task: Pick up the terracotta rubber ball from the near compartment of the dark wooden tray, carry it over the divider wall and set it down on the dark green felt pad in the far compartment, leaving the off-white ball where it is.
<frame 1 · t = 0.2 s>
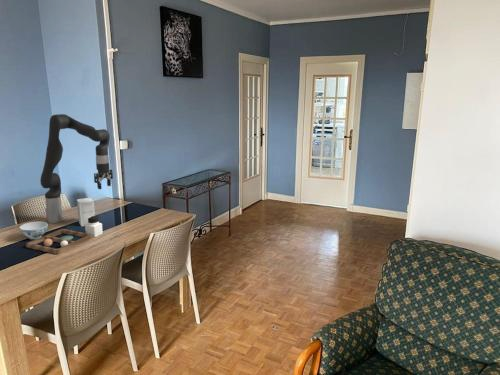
hand: (104, 187, 237), 29 cm above the table, fingers open, 8 cm apart
terracotta ball: (48, 246, 218), resting in dark wooden tray
supplement box: (87, 223, 256), on the table
off-white ball: (64, 247, 217), resting in dark wooden tray
medicine bottle: (94, 235, 237), on the table
dark wooden tray: (60, 242, 223), on the table
chinaware: (35, 237, 230), on the table
felt pad: (66, 238, 230), resting in dark wooden tray
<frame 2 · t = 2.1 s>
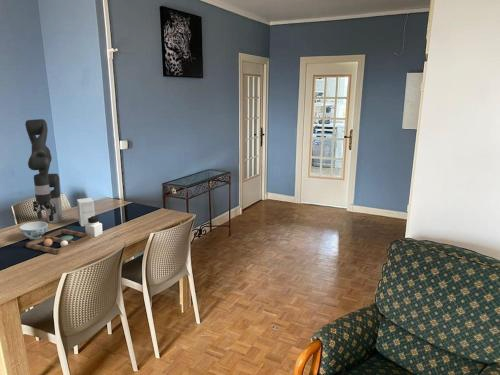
hand: (45, 219, 214), 16 cm above the table, fingers open, 8 cm apart
nothing on the table moved.
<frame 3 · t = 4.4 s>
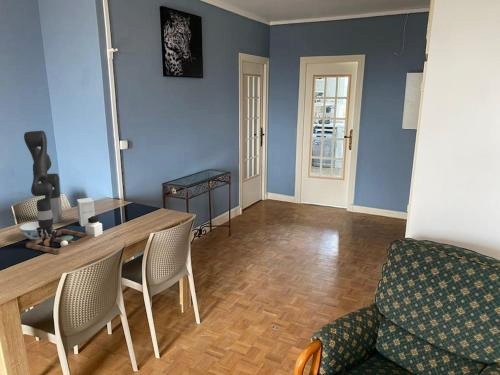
hand: (48, 245, 218), 1 cm above the table, fingers closed on terracotta ball, 4 cm apart
terracotta ball: (48, 246, 218), resting in dark wooden tray, touching gripper
everything else where it was.
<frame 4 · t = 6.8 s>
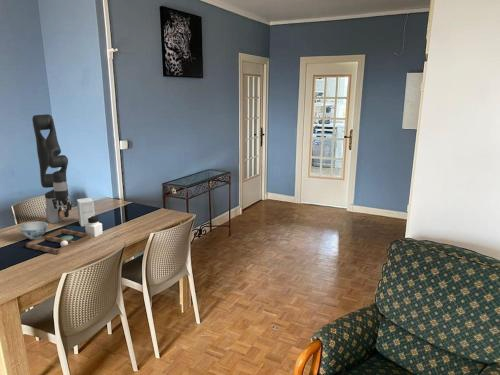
hand: (63, 216, 226), 14 cm above the table, fingers closed on terracotta ball, 4 cm apart
terracotta ball: (63, 217, 226), point 14 cm above the table, touching gripper
everything else where it was.
when the fingers open (1 cm above the table, at t = 8.9 s): terracotta ball stays where it is, resting on felt pad.
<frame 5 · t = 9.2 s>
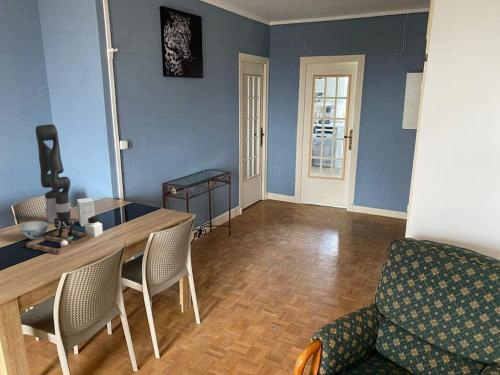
hand: (65, 235, 229), 2 cm above the table, fingers open, 6 cm apart
terracotta ball: (65, 237, 230), resting on felt pad
everything else where it was.
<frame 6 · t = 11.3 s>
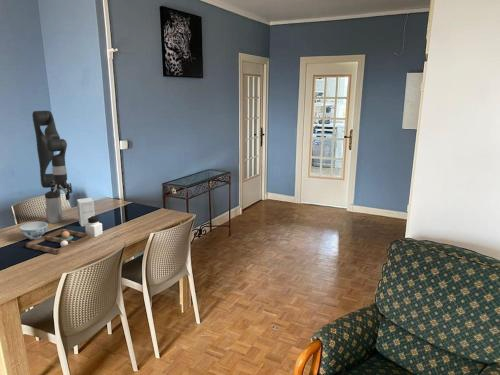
hand: (62, 198, 227), 24 cm above the table, fingers open, 8 cm apart
nothing on the table moved.
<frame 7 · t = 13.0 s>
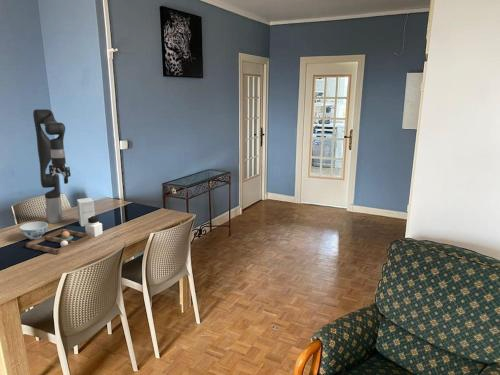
hand: (60, 182, 229), 33 cm above the table, fingers open, 8 cm apart
nothing on the table moved.
at the end: terracotta ball 0.0 cm from the felt pad (horizontally); terracotta ball resting on felt pad; the gripper is holding nothing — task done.
